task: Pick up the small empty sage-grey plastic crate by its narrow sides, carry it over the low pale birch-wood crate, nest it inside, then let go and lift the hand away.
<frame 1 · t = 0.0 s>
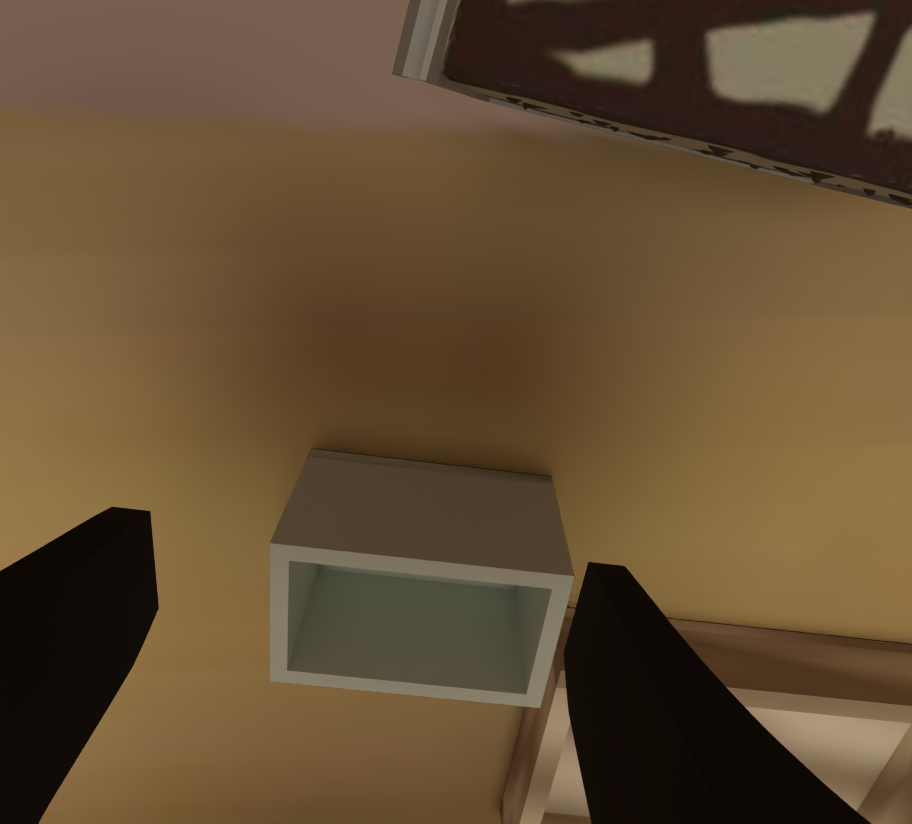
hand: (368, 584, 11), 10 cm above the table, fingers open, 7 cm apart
big crate: (712, 736, 27), on the table
food container: (693, 12, 16), on the table
small crate: (424, 524, 22), on the table
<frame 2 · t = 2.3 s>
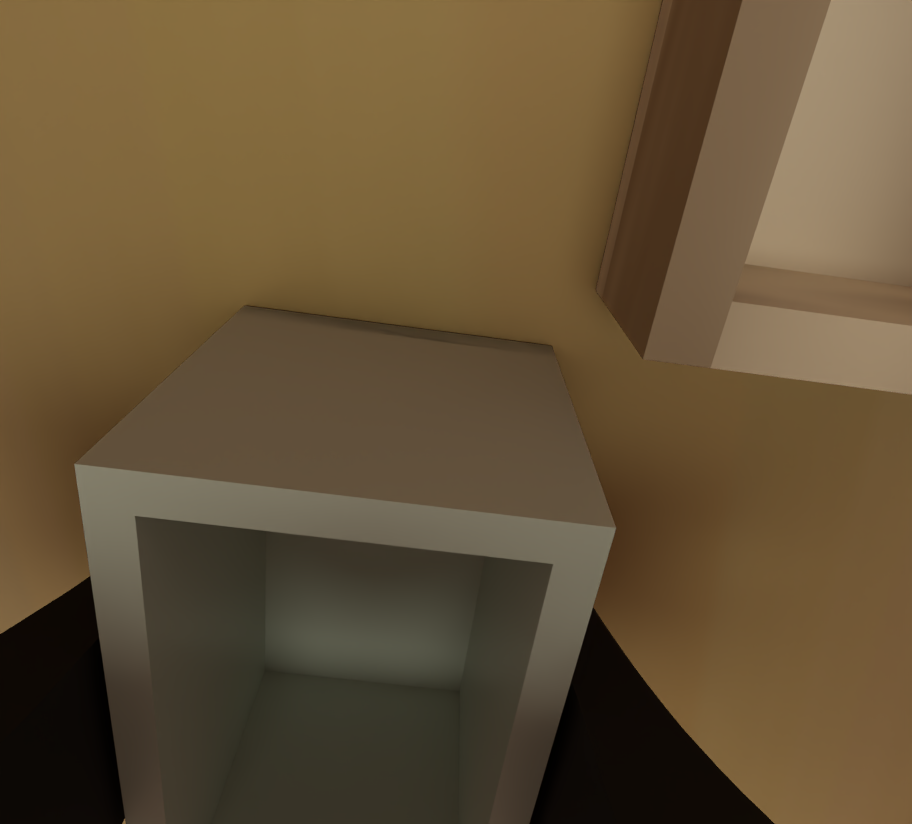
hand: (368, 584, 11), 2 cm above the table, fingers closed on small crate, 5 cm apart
small crate: (379, 527, 12), on the table, touching gripper
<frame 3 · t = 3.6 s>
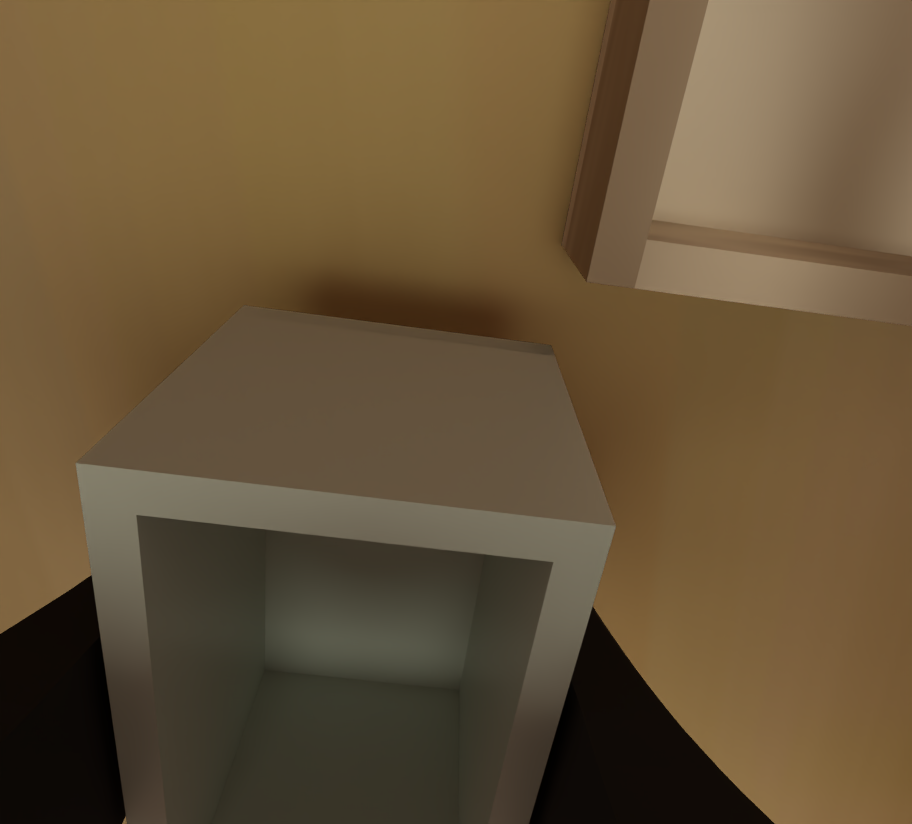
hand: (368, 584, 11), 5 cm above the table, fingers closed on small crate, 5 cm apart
small crate: (379, 526, 12), point 3 cm above the table, touching gripper
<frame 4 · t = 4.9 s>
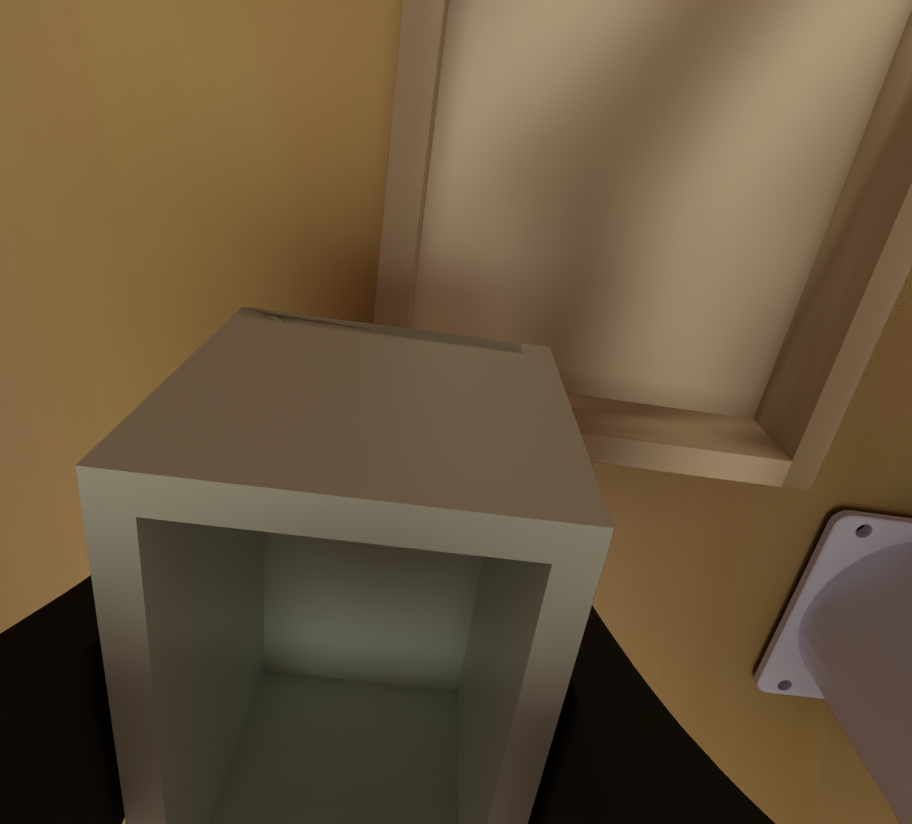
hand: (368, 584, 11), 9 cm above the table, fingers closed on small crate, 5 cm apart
big crate: (643, 128, 16), on the table
small crate: (378, 527, 12), point 8 cm above the table, touching gripper
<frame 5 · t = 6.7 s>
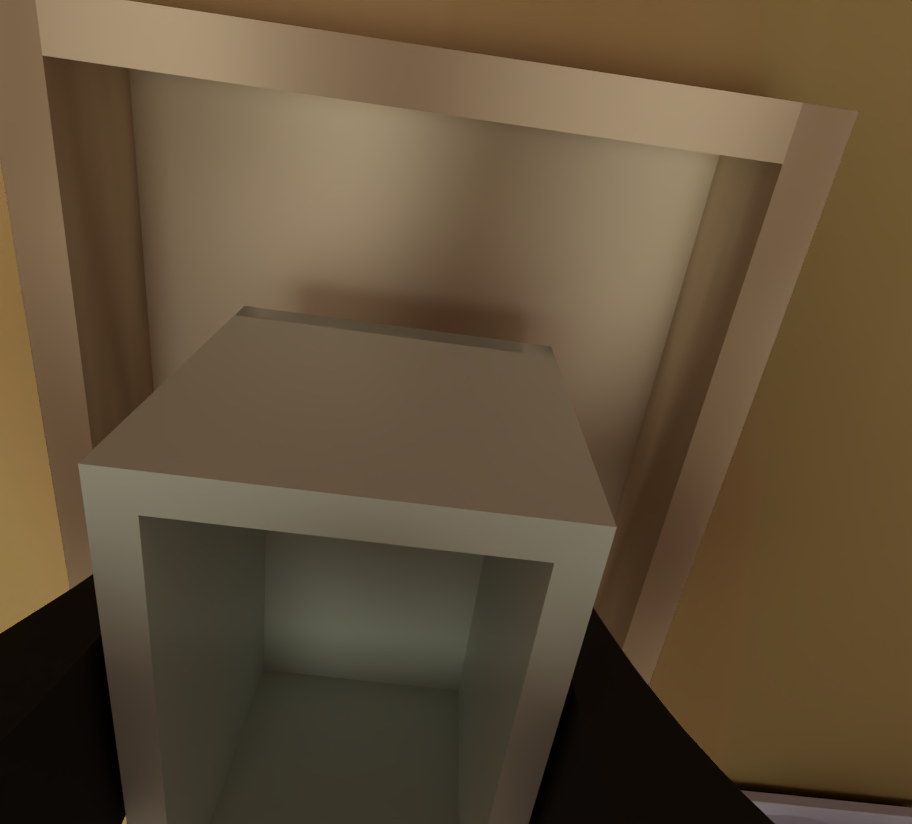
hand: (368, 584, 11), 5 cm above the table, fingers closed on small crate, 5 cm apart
big crate: (395, 452, 15), on the table
small crate: (378, 527, 12), point 3 cm above the table, touching gripper
when the fingers open (3 cm above the table, at t = 8.0 s): small crate drops 1 cm, resting on big crate.
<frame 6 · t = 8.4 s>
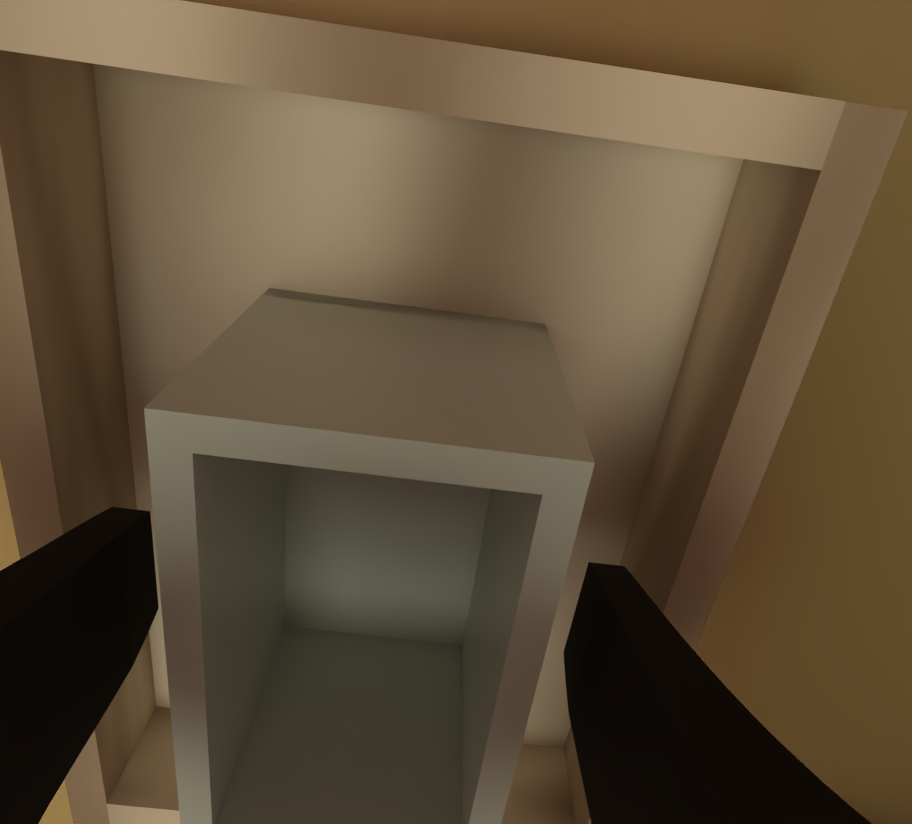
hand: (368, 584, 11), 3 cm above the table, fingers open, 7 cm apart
big crate: (389, 477, 14), on the table
small crate: (389, 492, 13), resting on big crate
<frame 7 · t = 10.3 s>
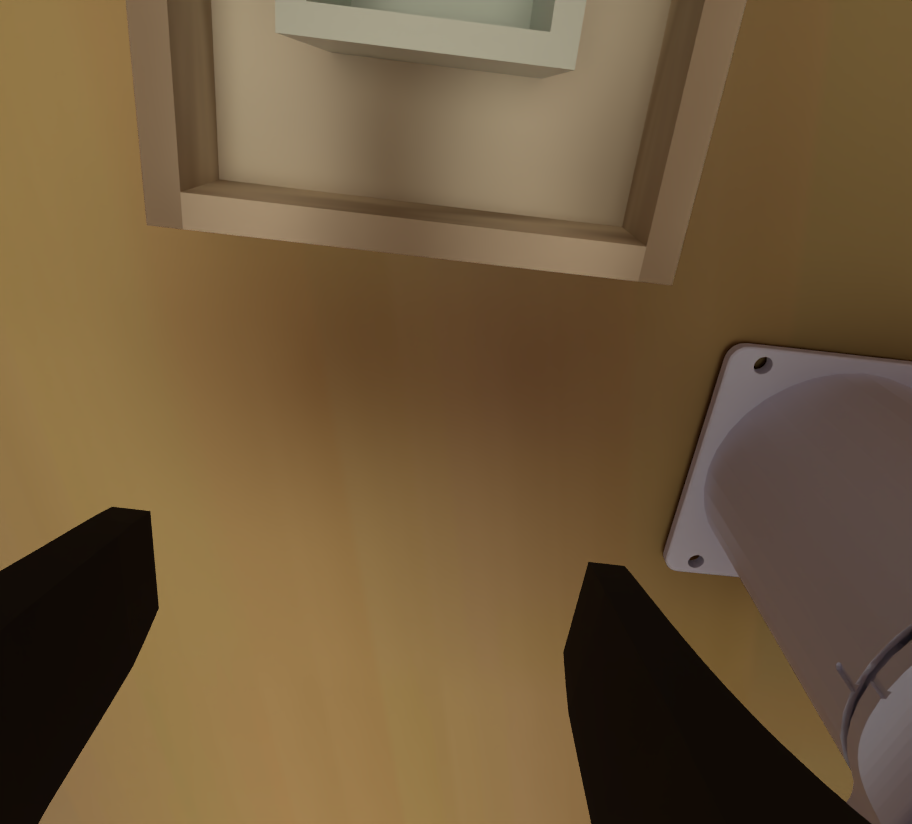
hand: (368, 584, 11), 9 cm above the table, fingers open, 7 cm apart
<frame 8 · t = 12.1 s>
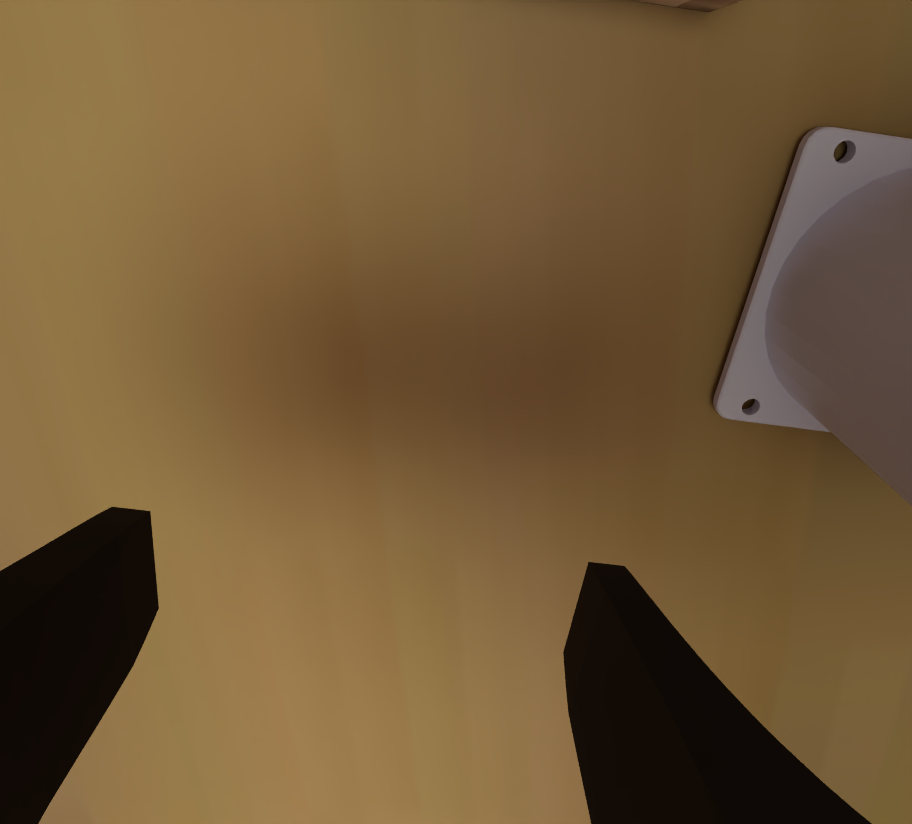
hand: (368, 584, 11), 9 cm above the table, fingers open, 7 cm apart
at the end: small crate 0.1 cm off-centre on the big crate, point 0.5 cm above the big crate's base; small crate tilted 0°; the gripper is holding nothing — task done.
